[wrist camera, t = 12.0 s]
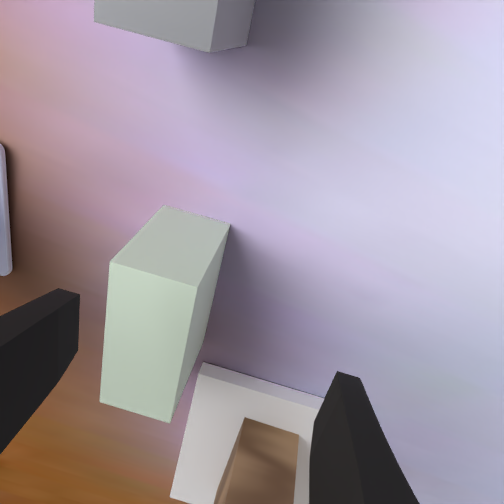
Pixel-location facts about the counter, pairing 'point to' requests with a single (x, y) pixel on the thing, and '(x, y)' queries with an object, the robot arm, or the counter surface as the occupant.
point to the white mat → (237, 429)
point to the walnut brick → (260, 466)
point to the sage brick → (159, 310)
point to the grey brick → (182, 21)
